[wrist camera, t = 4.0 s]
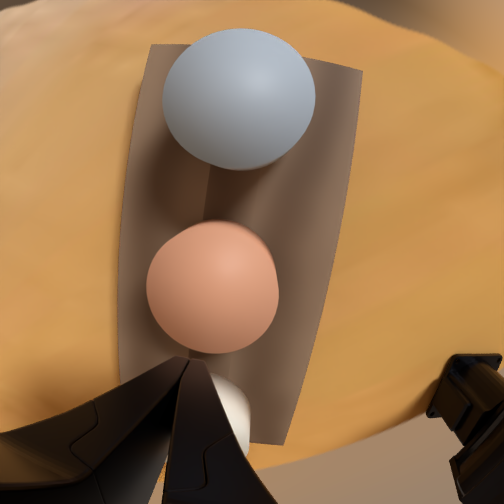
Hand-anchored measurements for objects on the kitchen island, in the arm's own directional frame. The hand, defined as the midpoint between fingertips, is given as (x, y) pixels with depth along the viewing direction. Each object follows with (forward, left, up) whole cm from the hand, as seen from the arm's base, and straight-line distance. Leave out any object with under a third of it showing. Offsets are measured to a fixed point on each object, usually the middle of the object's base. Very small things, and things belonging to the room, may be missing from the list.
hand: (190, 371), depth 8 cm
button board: (0, 0, -12) cm, 12 cm away
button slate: (0, -9, -11) cm, 14 cm away
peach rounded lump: (0, 0, -12) cm, 12 cm away
